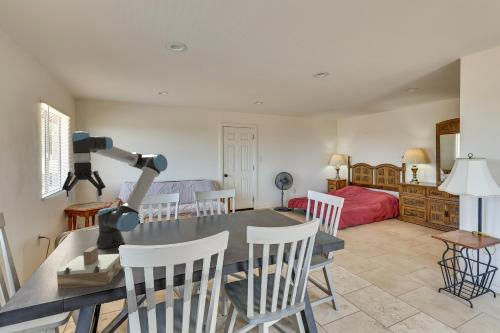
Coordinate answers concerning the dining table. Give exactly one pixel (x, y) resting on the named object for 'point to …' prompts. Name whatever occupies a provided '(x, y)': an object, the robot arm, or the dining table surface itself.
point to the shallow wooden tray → (88, 277)
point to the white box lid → (90, 262)
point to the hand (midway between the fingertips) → (85, 202)
